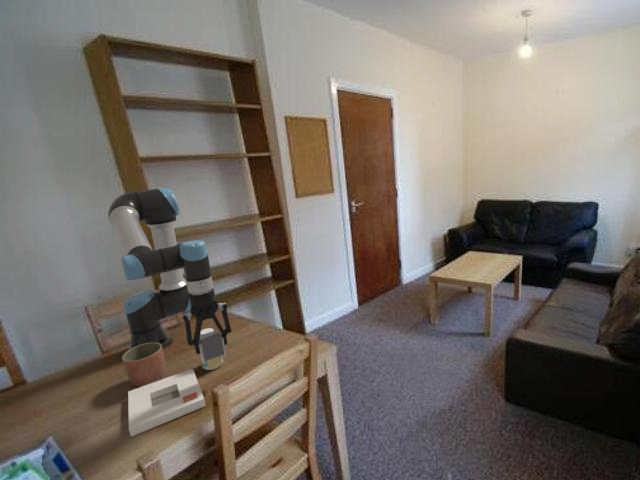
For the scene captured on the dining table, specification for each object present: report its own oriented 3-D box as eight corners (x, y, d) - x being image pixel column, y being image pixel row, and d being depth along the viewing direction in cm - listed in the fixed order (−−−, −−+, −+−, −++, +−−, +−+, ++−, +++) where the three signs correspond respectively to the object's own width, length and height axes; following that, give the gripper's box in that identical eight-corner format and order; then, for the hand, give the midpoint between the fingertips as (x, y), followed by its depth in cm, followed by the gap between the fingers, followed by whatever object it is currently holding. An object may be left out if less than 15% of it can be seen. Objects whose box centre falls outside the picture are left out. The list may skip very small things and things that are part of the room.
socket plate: (130, 398, 110) (127, 390, 110) (194, 374, 120) (192, 367, 119) (130, 436, 93) (128, 427, 92) (205, 405, 102) (203, 397, 102)
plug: (203, 363, 112) (198, 335, 110) (221, 357, 115) (217, 330, 113) (207, 372, 107) (202, 343, 105) (226, 365, 110) (221, 337, 108)
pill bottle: (217, 371, 120) (210, 336, 117) (198, 370, 122) (191, 336, 119) (227, 359, 127) (220, 326, 125) (209, 359, 129) (202, 326, 126)
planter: (156, 365, 129) (150, 339, 126) (174, 374, 121) (168, 346, 119) (122, 384, 119) (115, 356, 117) (140, 395, 112) (132, 365, 109)
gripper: (169, 303, 98) (184, 374, 103) (234, 286, 106) (245, 352, 112) (166, 295, 104) (181, 363, 109) (228, 280, 113) (239, 343, 118)
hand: (213, 357), depth 110 cm, fingers closed on plug, 6 cm apart
